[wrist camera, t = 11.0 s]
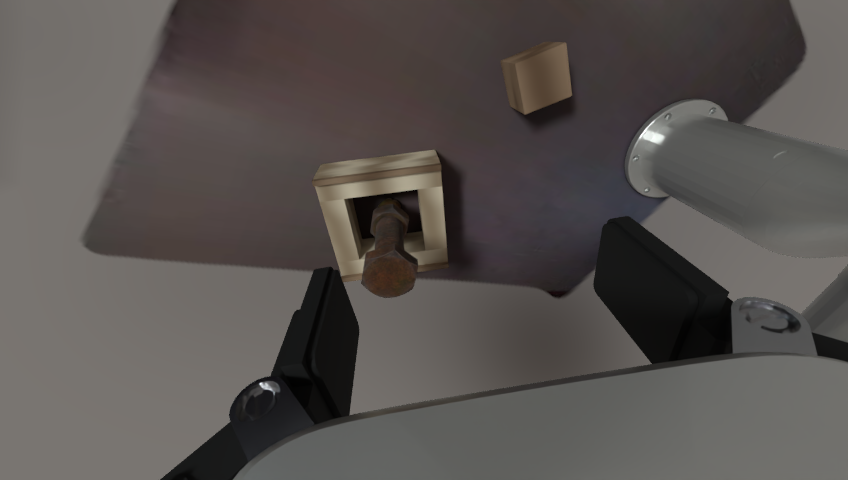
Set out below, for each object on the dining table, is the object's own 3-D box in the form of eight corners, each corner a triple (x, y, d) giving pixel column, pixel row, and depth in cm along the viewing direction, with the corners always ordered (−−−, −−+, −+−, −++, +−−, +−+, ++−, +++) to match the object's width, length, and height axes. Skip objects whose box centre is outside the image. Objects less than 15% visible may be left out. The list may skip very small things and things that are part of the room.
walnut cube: (544, 42, 35) (566, 42, 31) (551, 89, 38) (572, 95, 33) (500, 60, 36) (515, 63, 31) (509, 106, 38) (524, 114, 34)
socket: (434, 149, 40) (441, 164, 35) (442, 244, 47) (448, 267, 43) (321, 164, 40) (311, 181, 35) (347, 257, 47) (342, 282, 42)
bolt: (418, 207, 44) (429, 276, 31) (394, 232, 46) (395, 307, 33) (384, 180, 42) (382, 243, 29) (360, 208, 43) (348, 278, 31)
